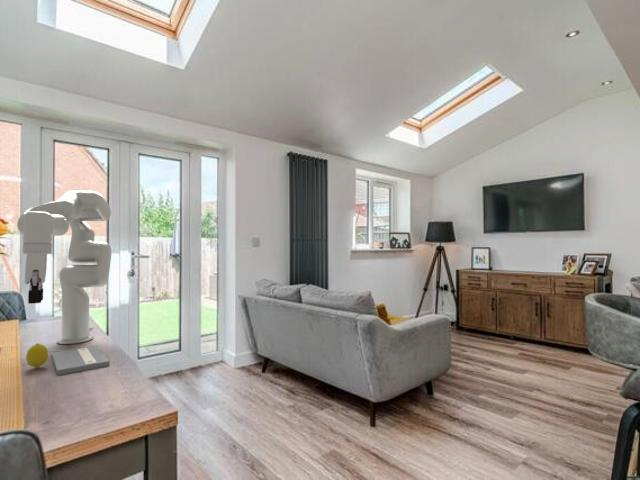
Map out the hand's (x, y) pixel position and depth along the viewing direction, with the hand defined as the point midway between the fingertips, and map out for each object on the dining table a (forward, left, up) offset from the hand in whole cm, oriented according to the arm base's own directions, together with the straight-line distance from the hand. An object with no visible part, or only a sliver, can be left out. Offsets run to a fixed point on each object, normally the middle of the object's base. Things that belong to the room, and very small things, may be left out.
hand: (35, 301), depth 119 cm
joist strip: (-7, +12, -20) cm, 24 cm away
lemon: (+1, +1, -22) cm, 22 cm away
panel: (-6, +10, -21) cm, 25 cm away
